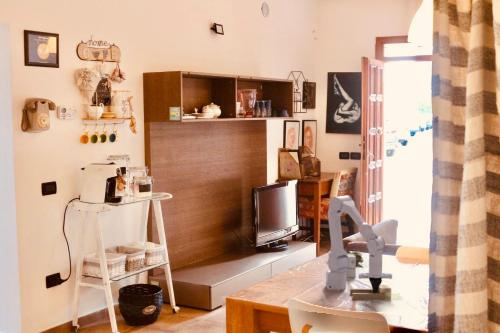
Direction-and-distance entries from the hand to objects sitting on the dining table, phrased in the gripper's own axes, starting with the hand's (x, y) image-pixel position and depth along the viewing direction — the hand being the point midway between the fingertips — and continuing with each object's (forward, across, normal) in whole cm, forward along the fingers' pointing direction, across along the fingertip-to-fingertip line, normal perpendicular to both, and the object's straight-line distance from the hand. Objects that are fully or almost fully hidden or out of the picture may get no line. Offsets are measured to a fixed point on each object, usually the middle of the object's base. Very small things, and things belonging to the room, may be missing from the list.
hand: (375, 294), depth 271 cm
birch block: (+1, +4, 0) cm, 4 cm away
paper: (+2, -3, +68) cm, 68 cm away
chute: (+2, +1, 0) cm, 2 cm away
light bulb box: (+2, -8, +38) cm, 39 cm away
